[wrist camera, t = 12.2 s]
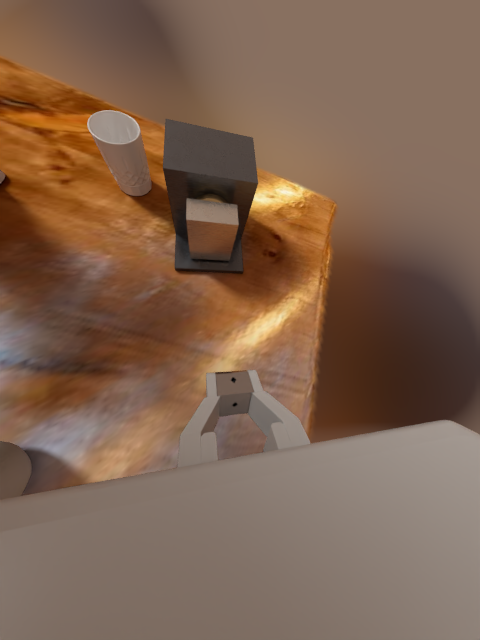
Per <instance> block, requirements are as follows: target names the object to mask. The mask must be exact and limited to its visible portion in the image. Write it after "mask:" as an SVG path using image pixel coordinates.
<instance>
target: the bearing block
mask: <svg viewBox="0 0 480 640" xmlns="http://www.w3.org/2000/svg"><path fill="white" fill-rule="evenodd" d="M163 170H164V176H165V181H166V186H167V191H168V196H169V201H170V206H171V212H172V217H173V222H174V227H175V232H176V245H175V270H177V271H198V272H220V273H241V274H242V273H243V262H242V249H241V237H242V234H243V231H244V227H245V224H246V221H247V218H248V214H249V211H250V208H251V205H252V201H253V198H254V195H255V192H256V188H257V185H258V179H257V170H256V162H255V152H254V144H253V138H251V137H247V136H242V135H238V134H233V133H228V132H224V131H219V130H215V129H210V128H206V127H201V126H197V125H192V124H187V123H183V122H178V121H173V120H169V119H166V122H165V141H164V159H163ZM204 194H214V195H218V196H220V197H222V198H223V199H224V200H226V202H227V203H228V204H235V205H237V210H238V223H239V226H238V230H237V233H236V237H235V241H234V245H233V249H232V253H231V256H230V260H229V261H225V260H208V259H192V258H190V250H189V241H188V231H187V222H186V200H187V198H189V199H196V198H197V197H199V196H201V195H204Z"/></svg>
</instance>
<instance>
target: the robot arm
mask: <svg viewBox="0 0 480 640" xmlns="http://www.w3.org/2000/svg"><path fill="white" fill-rule="evenodd" d="M4 178H5V174H4V173H3V172H2V171H1V170H0V183H1V182H2V181H3V180H4ZM244 413H248V415H249V416H250V417H251V418H252V420H253V421H254V422H255V423H256V424H257V426H258V427H259V428H260V429H261V430H262V432H263V433H264V434H265V435H266V436H267V440H266V443H265V446H264V449H263V452H262V453H256V454H251V455H245V456H239V457H234V458H228V459H223V460H218V453H217V440H216V434H215V433H214V432H213V430H214V428H215V426H216V424H217V421H218V419H219V417H221V416H228V415H234V414H244ZM0 640H480V435H479V434H477V433H476V432H474V431H472V430H469V429H467V428H466V427H464V426H462V425H459V424H457V423H455V422H453V421H449V420H441V421H435V422H429V423H423V424H418V425H412V426H407V427H401V428H395V429H390V430H385V431H379V432H373V433H368V434H362V435H357V436H352V437H346V438H340V439H335V440H329V441H323V442H318V443H312V444H311V443H310V441H309V439H308V437H307V435H306V433H305V431H304V428H303V426H302V424H301V422H300V420H299V418H297V417H296V416H295V415H294V414H293V413H291V412H290V411H289V410H288V409H287V408H285V407H284V406H283V405H282V404H281V403H279V402H278V401H277V400H276V399H275V398H274V397H272V396H271V395H270V394H269V393H268V392H266V391H263V388H262V385H261V383H260V380H259V377H258V374H257V372H256V370H243V371H231V372H215V373H206V397H205V398H204V399H203V401H202V402H201V404H200V405H199V407H198V409H197V410H196V412H195V413H194V415H193V416H192V418H191V419H190V421H189V422H188V424H187V426H186V427H185V429H184V430H183V432H182V433H181V435H180V443H179V453H178V463H177V468H173V469H167V470H161V471H156V472H150V473H145V474H139V475H134V476H128V477H123V478H117V479H111V480H106V481H100V482H95V483H89V484H84V485H78V486H72V487H67V488H61V489H56V490H50V491H45V492H39V493H33V494H28V495H22V496H17V497H11V498H6V499H0Z"/></svg>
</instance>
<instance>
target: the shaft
mask: <svg viewBox="0 0 480 640" xmlns="http://www.w3.org/2000/svg"><path fill="white" fill-rule="evenodd" d="M186 222H187V231H188V241H189V250H190V258H192V259H208V260H225V261H229V260H230V256H231V253H232V249H233V245H234V241H235V237H236V233H237V230H238V226H239V223H238V210H237V205H235V204H228V203H227V202H226V200H224V199H223V198H222V197H220V196H218V195H214V194H204V195H201V196H199V197H197V198H196V199H189V198H187V200H186Z"/></svg>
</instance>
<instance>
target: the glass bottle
mask: <svg viewBox="0 0 480 640" xmlns="http://www.w3.org/2000/svg"><path fill="white" fill-rule="evenodd" d="M31 471H32V465H31V461H30V459H29V457H28V455H27V454H26V453H25V451H24V450H22V449H21V448H20V447H19V446H17V445H14V444H12V443H8V442H2V441H0V499H6V498H11V497H17V496H21V495H22V493H23V491H24V489H25V488H26V486H27V483H28V481H29V478H30V476H31Z"/></svg>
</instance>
